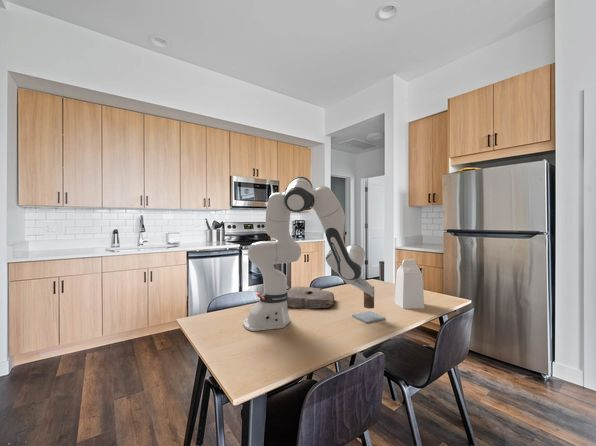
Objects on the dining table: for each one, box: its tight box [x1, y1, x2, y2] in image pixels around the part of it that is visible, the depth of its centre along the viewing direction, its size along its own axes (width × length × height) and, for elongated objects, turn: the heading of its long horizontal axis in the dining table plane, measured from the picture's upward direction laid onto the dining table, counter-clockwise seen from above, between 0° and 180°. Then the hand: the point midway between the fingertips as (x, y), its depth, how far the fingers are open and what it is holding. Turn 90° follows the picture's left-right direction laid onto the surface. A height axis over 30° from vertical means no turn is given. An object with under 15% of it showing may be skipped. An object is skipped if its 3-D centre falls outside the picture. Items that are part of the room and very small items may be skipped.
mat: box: [351, 310, 387, 324], centre depth 137 cm, size 12×11×1 cm
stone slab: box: [287, 286, 335, 310], centre depth 165 cm, size 31×29×6 cm
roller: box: [363, 285, 375, 310], centre depth 136 cm, size 5×5×10 cm
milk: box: [394, 259, 425, 310], centre depth 156 cm, size 12×12×26 cm
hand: (369, 293), depth 136 cm, fingers closed on roller, 5 cm apart
